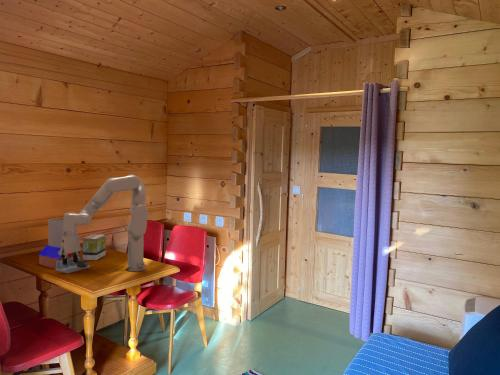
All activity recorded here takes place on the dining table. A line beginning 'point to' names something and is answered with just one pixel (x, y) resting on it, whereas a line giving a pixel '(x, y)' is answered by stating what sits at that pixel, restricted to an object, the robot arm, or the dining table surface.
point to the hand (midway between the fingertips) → (70, 263)
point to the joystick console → (68, 266)
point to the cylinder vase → (55, 231)
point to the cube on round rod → (82, 263)
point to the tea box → (94, 247)
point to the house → (51, 256)
